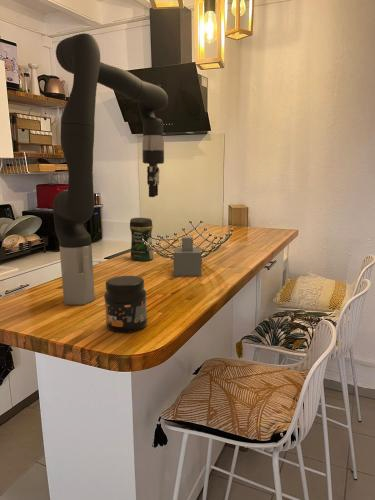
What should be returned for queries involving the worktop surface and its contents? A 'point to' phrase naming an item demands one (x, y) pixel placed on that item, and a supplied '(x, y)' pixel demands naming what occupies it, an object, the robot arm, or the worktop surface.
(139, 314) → the supplement container
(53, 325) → the worktop surface
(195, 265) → the gray stepped pedestal
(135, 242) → the coffee jar
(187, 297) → the worktop surface
